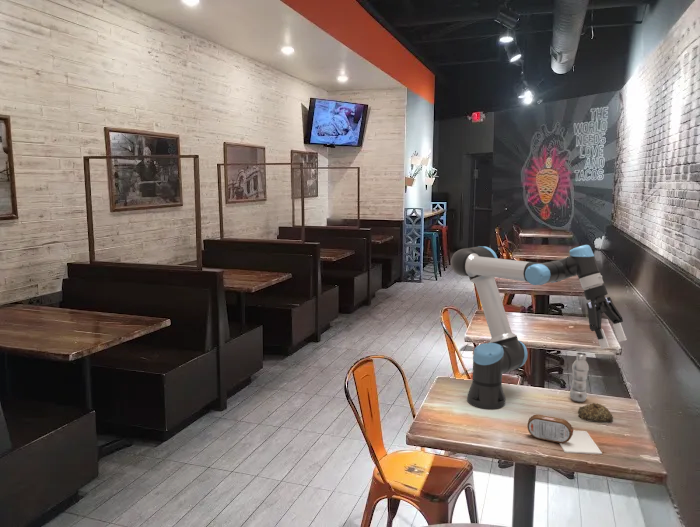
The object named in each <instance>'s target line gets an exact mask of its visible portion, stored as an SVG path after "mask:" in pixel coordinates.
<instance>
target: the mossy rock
mask: <svg viewBox="0 0 700 527" xmlns="http://www.w3.org/2000/svg"><path fill="white" fill-rule="evenodd" d="M577 414H578V415H577V417H578V418H579V419H581V420H584V421H588V422H595V423H596V422H598V423H612V422H613V421H614V417H613V414H612V413H611V412H610V410H609V409H608V408H607V407H606V406H604V405H602V404H601V403H594V402H593V403H590V404H585V405H584V406H579V408H578V411H577Z"/></svg>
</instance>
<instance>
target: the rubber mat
mask: <svg viewBox="0 0 700 527" xmlns="http://www.w3.org/2000/svg"><path fill="white" fill-rule="evenodd" d="M559 445H560V447H561V448H562V450H563V452H564V453H567V454H587V455H602V454H603V452H602V450H600V448H599V447H598V445H597V444H596V442H595V441H594V440H593V438H592V437H591V436H590V434H589V433H588V431H587V430H575V429H573V435H572V437H571V439H570V440H569V441H568V442H566V443H559Z"/></svg>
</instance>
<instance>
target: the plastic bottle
mask: <svg viewBox="0 0 700 527" xmlns="http://www.w3.org/2000/svg"><path fill="white" fill-rule="evenodd" d="M575 358H576V359H575V360H574V362H573V363H572V365H571V366H572V367H571V368H572V369H571V370H572V382H571V388H570V391H569V396H570V399H571V400H572V401H575V402H577V403H578V402H579V403H582V402H585V401H587V400H586V399H587V397H588V394H587V393H588V392H587V380H588V378H587V377H588V373H589V369H590V367H589V364H588V361H587V354H586V353H584V352H577V353H576V357H575Z"/></svg>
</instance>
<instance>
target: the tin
mask: <svg viewBox="0 0 700 527" xmlns="http://www.w3.org/2000/svg"><path fill="white" fill-rule="evenodd" d="M526 426H527V427H526V428H527V430H528V432H529V434H530V435H531V436H532V437H534V438H536V439H537V440H543V441H547V442H554V443H559V444H560V443H566V442H568V441H569V440H570V439H571V437H572V435H573V430H574V429H573V426H572V424H571V423H570V422H569V421H568V420H567V419H564V418H561V417H555V416H550V415H544V414H533V415H531V416H530V417H529V419H528V422H527V425H526Z"/></svg>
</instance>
